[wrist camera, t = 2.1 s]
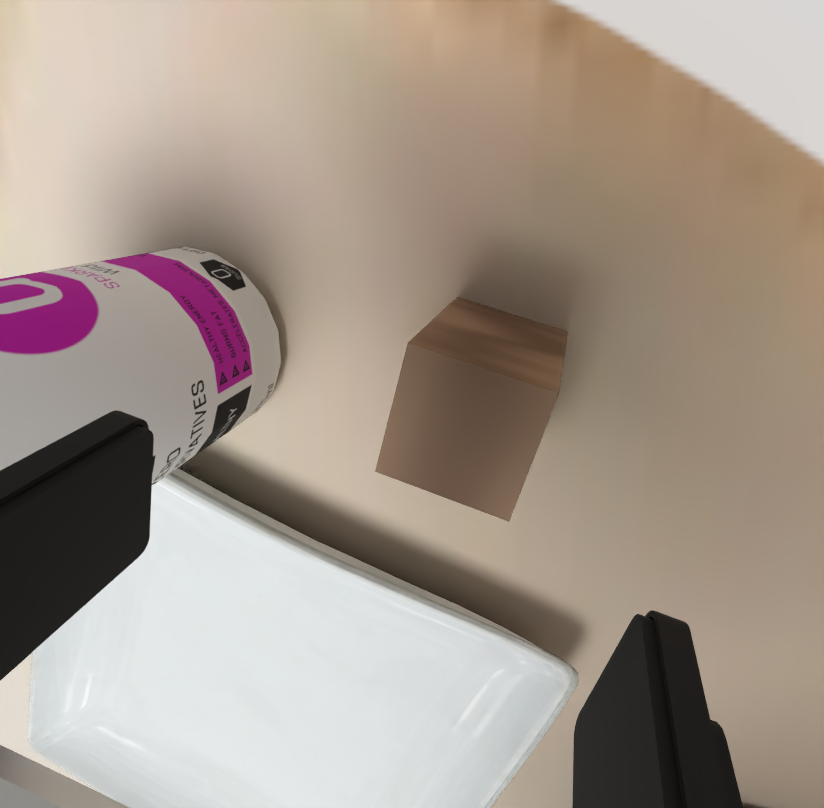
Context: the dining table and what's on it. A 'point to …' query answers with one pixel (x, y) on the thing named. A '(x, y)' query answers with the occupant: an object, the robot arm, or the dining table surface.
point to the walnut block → (473, 405)
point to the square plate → (282, 676)
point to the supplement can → (134, 352)
